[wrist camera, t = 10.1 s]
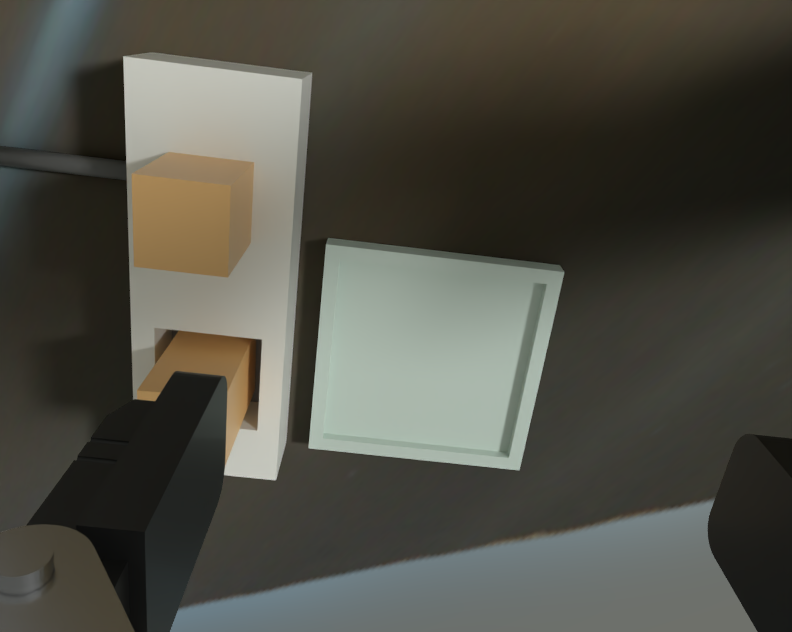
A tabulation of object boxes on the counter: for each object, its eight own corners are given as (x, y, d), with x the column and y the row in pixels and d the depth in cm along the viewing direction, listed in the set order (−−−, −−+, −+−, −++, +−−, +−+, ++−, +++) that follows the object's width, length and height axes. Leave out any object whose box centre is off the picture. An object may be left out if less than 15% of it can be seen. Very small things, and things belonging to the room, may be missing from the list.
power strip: (312, 72, 35) (285, 89, 27) (286, 441, 44) (259, 540, 36) (-22, 30, 35) (-153, 34, 26) (18, 413, 43) (-73, 507, 35)
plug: (256, 328, 40) (224, 398, 32) (254, 389, 41) (223, 470, 34) (185, 321, 40) (136, 390, 32) (186, 383, 41) (140, 462, 34)
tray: (559, 265, 39) (564, 272, 38) (516, 458, 44) (519, 470, 43) (327, 237, 39) (325, 244, 38) (310, 437, 44) (308, 448, 43)
